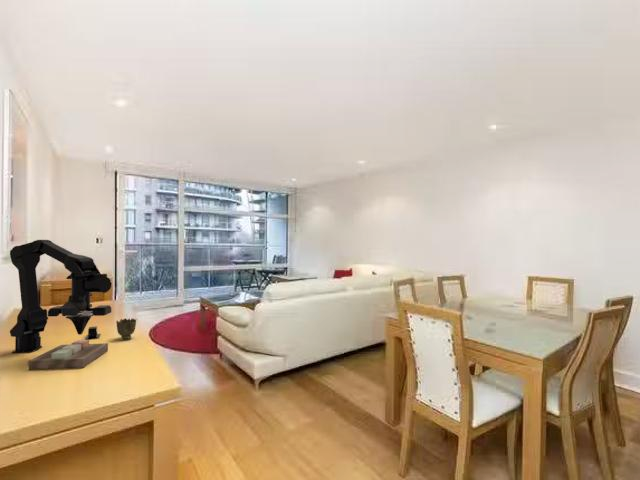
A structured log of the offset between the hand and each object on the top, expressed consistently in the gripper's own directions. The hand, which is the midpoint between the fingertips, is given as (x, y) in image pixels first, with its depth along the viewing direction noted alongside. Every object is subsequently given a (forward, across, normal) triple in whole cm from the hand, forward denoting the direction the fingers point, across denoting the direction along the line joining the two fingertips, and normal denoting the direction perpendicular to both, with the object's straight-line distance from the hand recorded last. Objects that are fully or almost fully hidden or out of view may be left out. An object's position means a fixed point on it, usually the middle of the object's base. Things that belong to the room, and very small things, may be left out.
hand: (80, 334), depth 123 cm
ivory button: (+6, 0, -6) cm, 8 cm away
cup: (+8, +8, +19) cm, 22 cm away
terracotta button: (+6, 0, 0) cm, 6 cm away
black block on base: (+8, -7, +24) cm, 27 cm away
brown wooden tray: (+7, 0, -6) cm, 9 cm away
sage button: (+6, 0, -11) cm, 12 cm away
